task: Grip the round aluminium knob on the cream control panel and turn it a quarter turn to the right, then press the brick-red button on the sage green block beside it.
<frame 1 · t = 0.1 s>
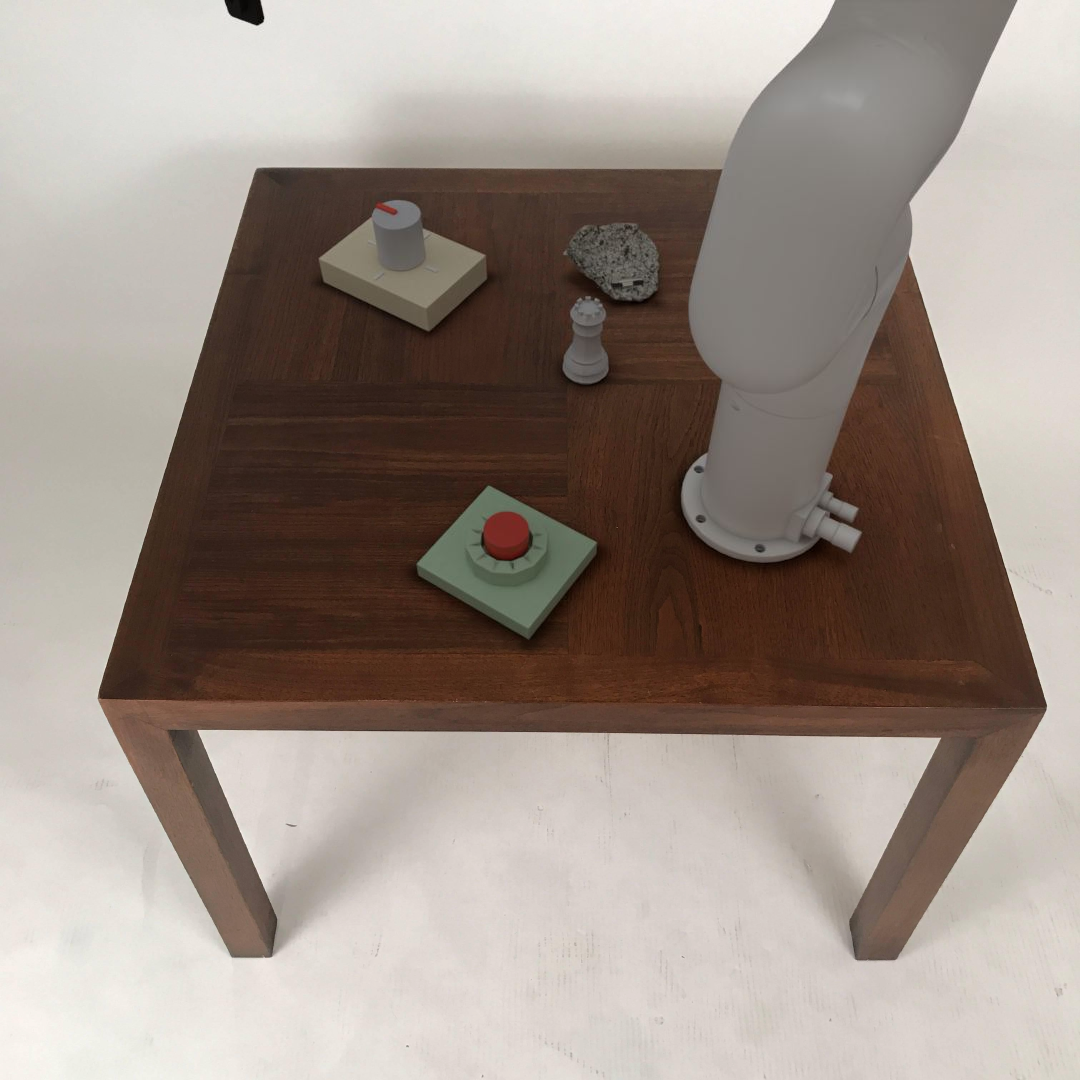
button block: (508, 565, 81), on the table
panel: (405, 280, 103), on the table
button: (506, 535, 78), point 4 cm above the table, slide at 0.2 cm
rook chess piece: (585, 372, 95), on the table
rock sample: (624, 280, 103), on the table
knob: (399, 234, 99), point 6 cm above the table, hinge at 0.0°
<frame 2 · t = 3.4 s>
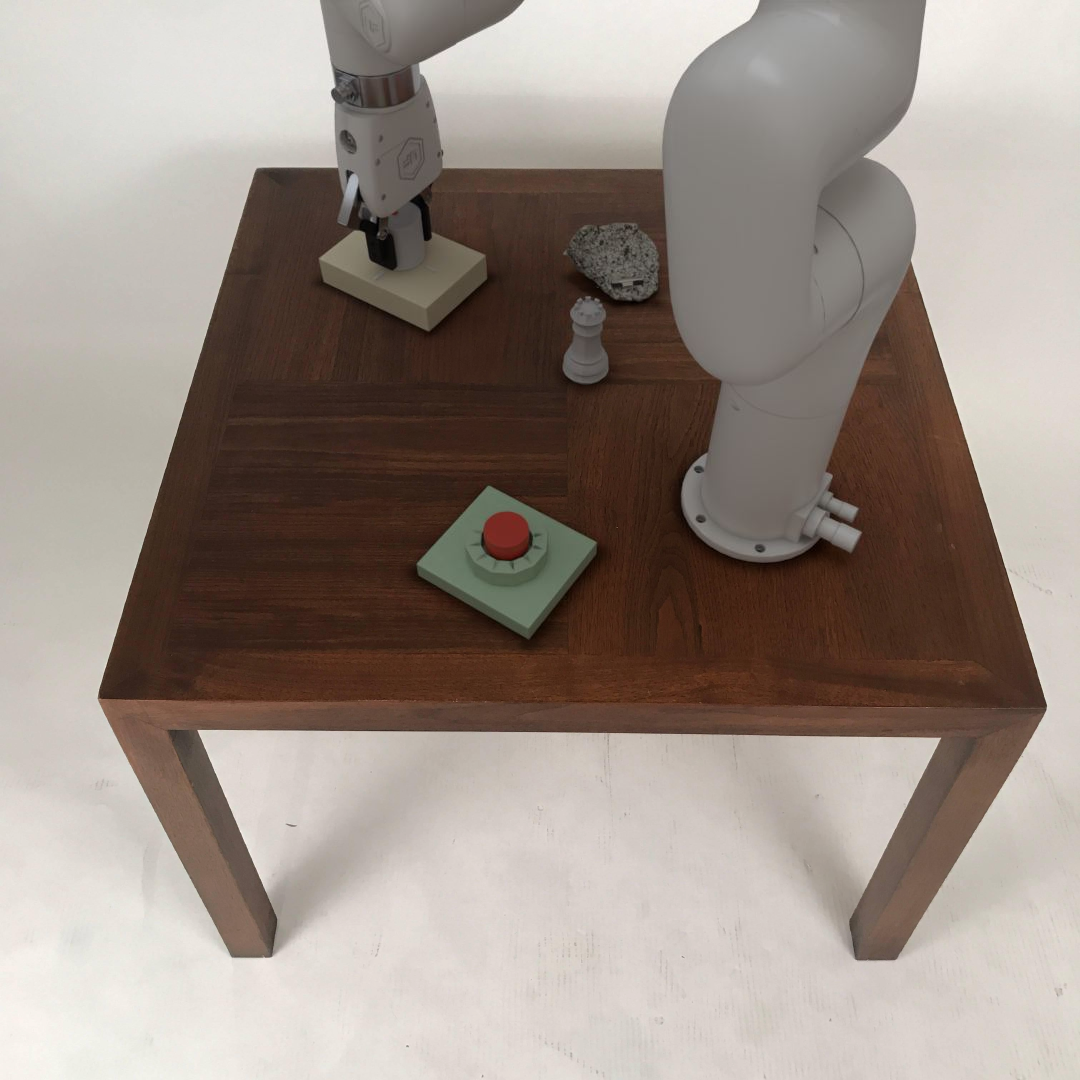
hand: (401, 248, 100), 4 cm above the table, tool pointing down, fingers closed on knob, 4 cm apart
knob: (399, 234, 99), point 6 cm above the table, hinge at 0.0°, touching gripper
everything else where it was.
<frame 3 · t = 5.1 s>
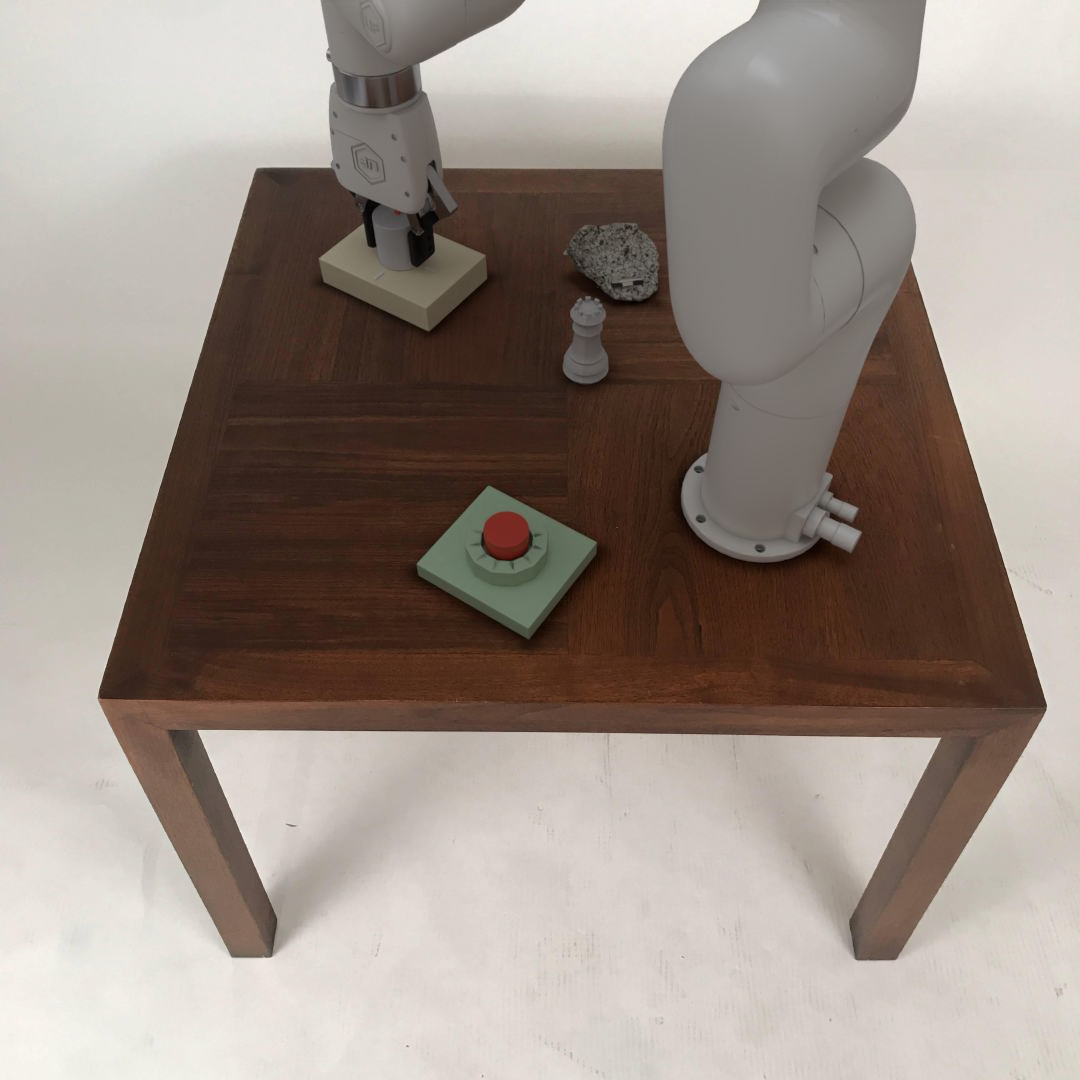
hand: (401, 248, 100), 4 cm above the table, tool pointing down, fingers closed on knob, 4 cm apart
knob: (399, 234, 99), point 6 cm above the table, hinge at -90.2°, touching gripper
everything else where it was.
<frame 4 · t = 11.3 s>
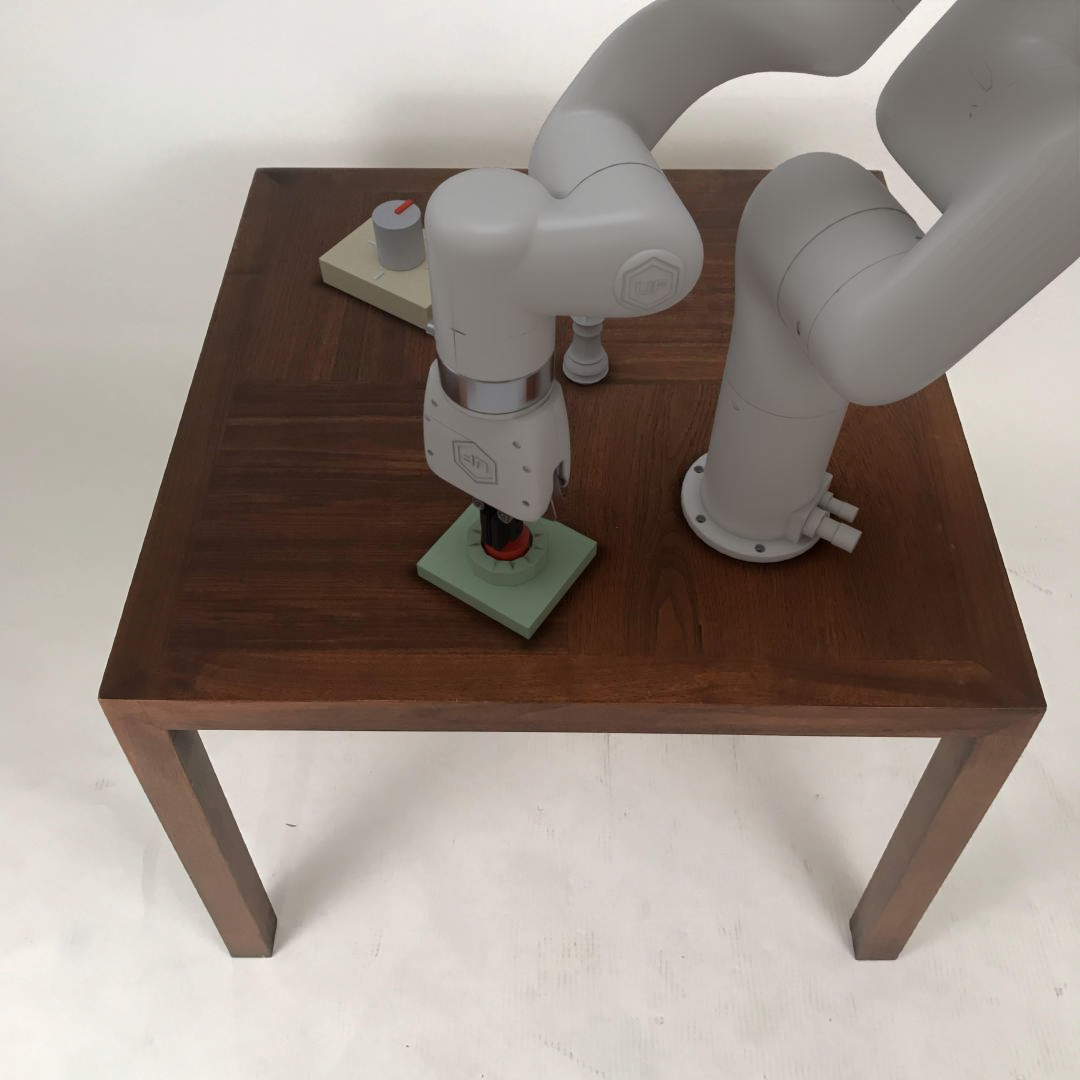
hand: (502, 535, 78), 4 cm above the table, tool pointing down, fingers closed
button: (506, 541, 79), point 3 cm above the table, slide at -0.6 cm, touching gripper
knob: (399, 234, 99), point 6 cm above the table, hinge at -90.2°
everything else where it was.
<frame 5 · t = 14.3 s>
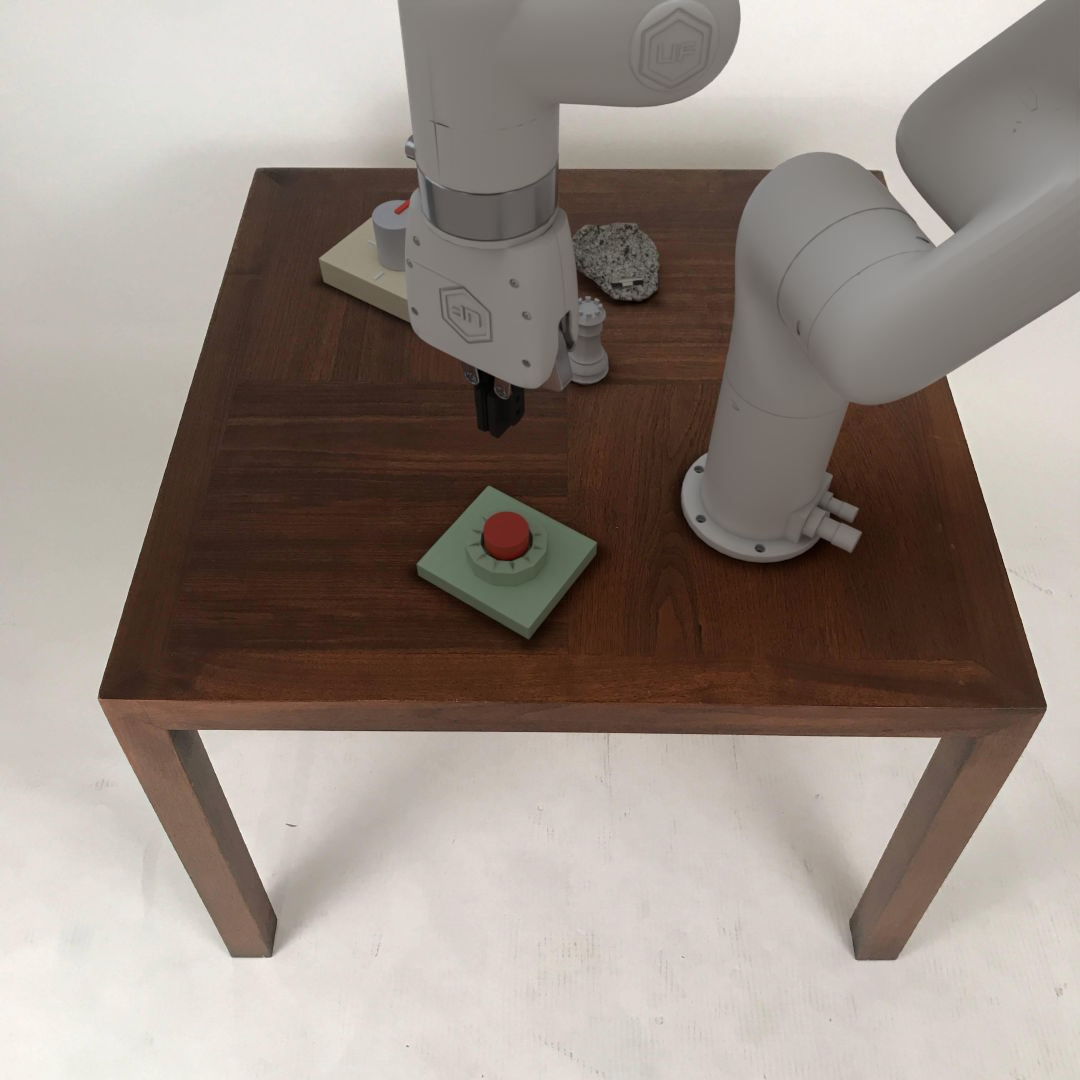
hand: (500, 421, 68), 17 cm above the table, tool pointing down, fingers closed
button: (506, 535, 78), point 4 cm above the table, slide at 0.1 cm
everything else where it was.
at the end: knob at -90° (first picture: +0°); button pushed in 1.0 cm at the most during the clip, back to where it started at the end; button slide at 0.1 cm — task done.
